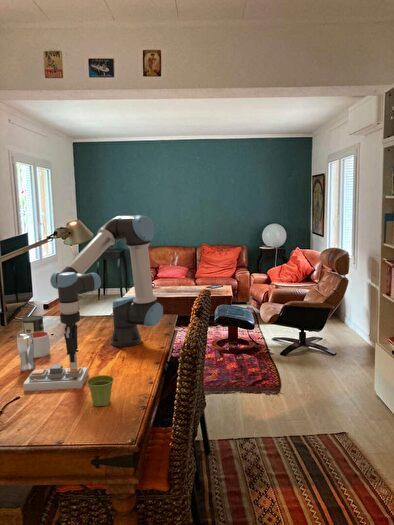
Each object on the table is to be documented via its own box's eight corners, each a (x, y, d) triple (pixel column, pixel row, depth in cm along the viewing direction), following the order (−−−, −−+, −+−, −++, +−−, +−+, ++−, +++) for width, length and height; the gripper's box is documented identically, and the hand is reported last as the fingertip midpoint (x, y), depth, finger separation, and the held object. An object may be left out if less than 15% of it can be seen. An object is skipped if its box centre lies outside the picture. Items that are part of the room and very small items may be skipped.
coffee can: (44, 340, 234) (42, 314, 232) (45, 346, 225) (43, 319, 223) (24, 343, 231) (21, 316, 229) (23, 349, 221) (21, 321, 219)
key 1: (45, 372, 181) (45, 369, 181) (42, 376, 177) (42, 372, 177) (35, 373, 181) (35, 369, 181) (32, 377, 177) (32, 373, 177)
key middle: (62, 368, 181) (62, 364, 181) (60, 372, 177) (59, 368, 177) (52, 368, 181) (52, 364, 181) (50, 372, 177) (49, 368, 177)
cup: (43, 359, 207) (41, 338, 205) (23, 358, 209) (21, 337, 207) (54, 351, 216) (52, 332, 215) (35, 351, 218) (33, 331, 217)
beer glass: (20, 372, 191) (17, 339, 189) (18, 367, 197) (15, 334, 195) (37, 369, 194) (34, 336, 192) (35, 364, 200) (32, 332, 198)
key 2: (80, 371, 182) (80, 367, 181) (78, 374, 178) (78, 371, 178) (70, 371, 181) (70, 367, 181) (68, 375, 178) (67, 371, 177)
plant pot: (103, 395, 167) (102, 372, 165) (120, 401, 161) (119, 378, 159) (82, 404, 159) (81, 381, 158) (99, 411, 154) (98, 387, 152)
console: (88, 374, 187) (87, 363, 187) (81, 388, 173) (80, 377, 173) (34, 376, 186) (34, 366, 185) (23, 391, 172) (22, 380, 172)
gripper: (64, 308, 182) (68, 363, 186) (55, 316, 169) (60, 375, 173) (82, 307, 183) (86, 362, 186) (75, 315, 170) (80, 374, 173)
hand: (73, 368), depth 179 cm, fingers closed
